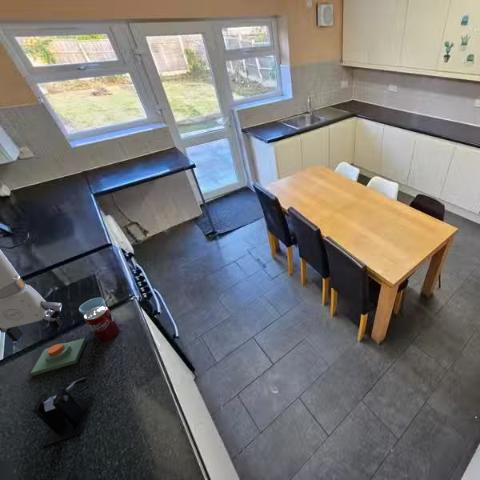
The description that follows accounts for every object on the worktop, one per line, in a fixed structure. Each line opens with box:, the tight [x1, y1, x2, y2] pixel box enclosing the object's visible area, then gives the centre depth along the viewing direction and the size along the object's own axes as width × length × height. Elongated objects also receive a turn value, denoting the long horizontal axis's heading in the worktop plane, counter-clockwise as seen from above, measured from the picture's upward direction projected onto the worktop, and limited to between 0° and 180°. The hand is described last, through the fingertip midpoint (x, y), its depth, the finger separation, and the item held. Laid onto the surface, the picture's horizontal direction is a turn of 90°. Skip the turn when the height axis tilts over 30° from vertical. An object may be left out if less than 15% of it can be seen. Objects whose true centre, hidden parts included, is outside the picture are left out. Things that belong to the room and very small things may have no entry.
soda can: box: [83, 305, 122, 343], centre depth 98 cm, size 7×7×12 cm
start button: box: [48, 343, 64, 356], centre depth 91 cm, size 4×4×2 cm
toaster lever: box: [43, 377, 87, 412], centre depth 75 cm, size 13×4×2 cm
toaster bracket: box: [32, 387, 94, 448], centre depth 72 cm, size 10×8×12 cm
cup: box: [78, 297, 107, 317], centre depth 104 cm, size 8×8×10 cm
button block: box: [30, 337, 89, 376], centre depth 92 cm, size 12×10×4 cm
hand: (39, 332), depth 80 cm, fingers open, 9 cm apart
